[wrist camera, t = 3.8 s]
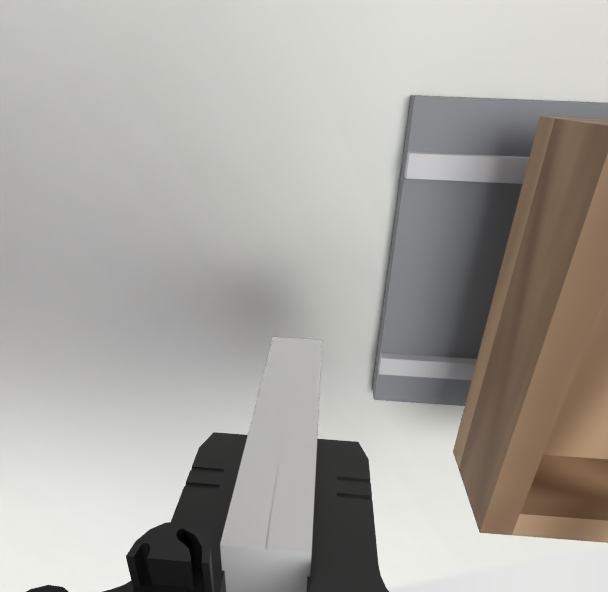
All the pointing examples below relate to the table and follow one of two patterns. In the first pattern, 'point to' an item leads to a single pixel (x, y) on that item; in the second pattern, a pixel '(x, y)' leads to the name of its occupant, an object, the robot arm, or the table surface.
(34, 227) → the table surface
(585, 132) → the tray
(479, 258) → the track
